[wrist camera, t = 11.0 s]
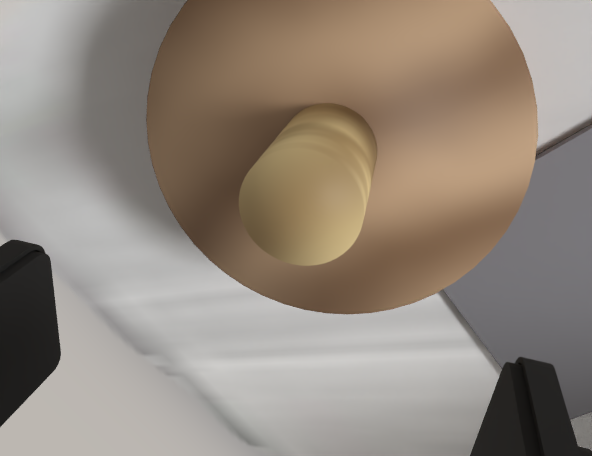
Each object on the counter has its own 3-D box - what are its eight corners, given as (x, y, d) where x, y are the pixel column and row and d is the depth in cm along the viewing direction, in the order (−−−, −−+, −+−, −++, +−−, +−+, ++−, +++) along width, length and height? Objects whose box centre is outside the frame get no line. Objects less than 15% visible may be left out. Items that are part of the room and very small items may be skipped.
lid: (608, 193, 22) (684, 284, 15) (300, 350, 28) (267, 457, 22) (380, -180, 18) (360, -256, 12) (87, 101, 25) (-23, 147, 18)
